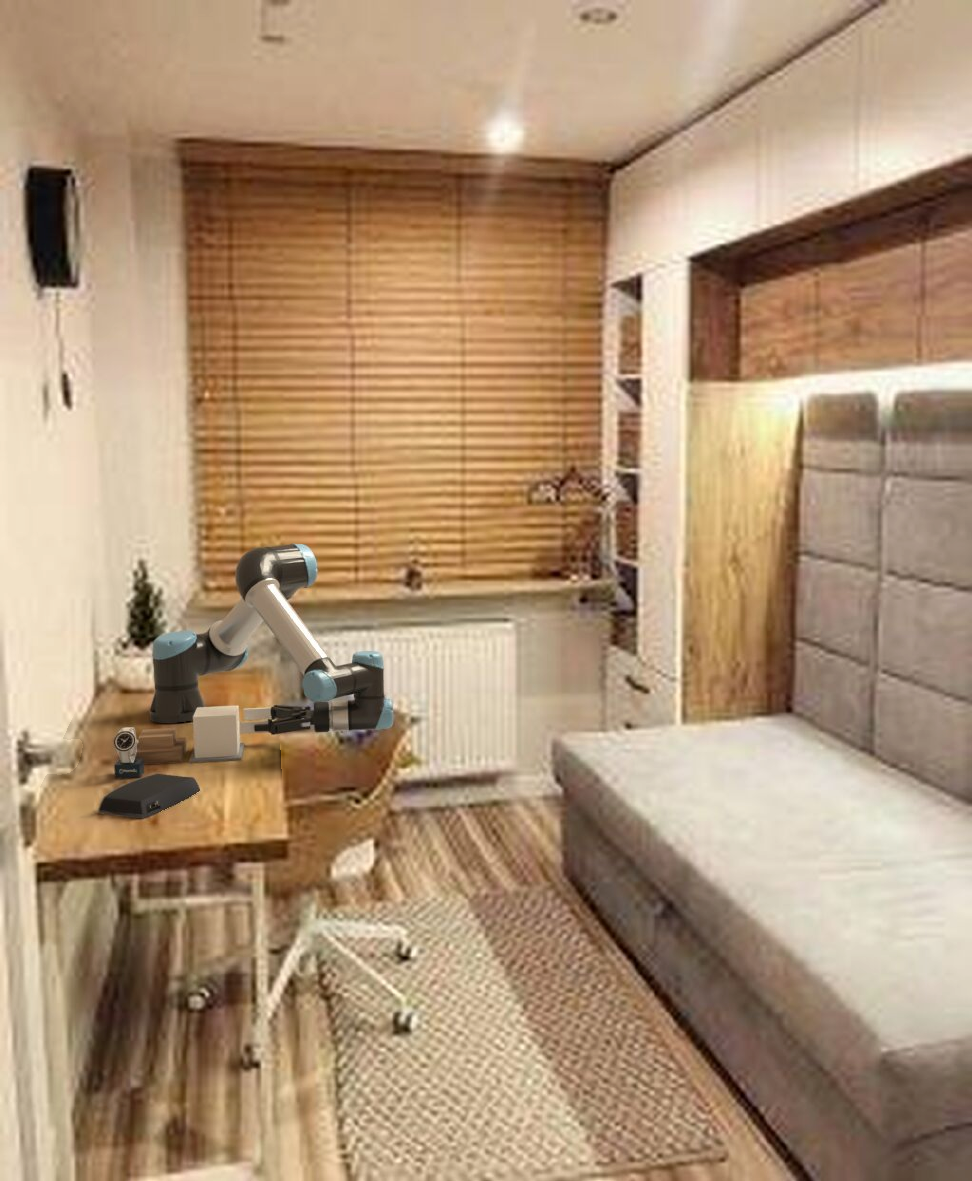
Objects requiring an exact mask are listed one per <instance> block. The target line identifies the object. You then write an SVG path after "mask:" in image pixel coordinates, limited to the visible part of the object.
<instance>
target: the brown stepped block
mask: <svg viewBox="0 0 972 1181" xmlns="http://www.w3.org/2000/svg"><path fill="white" fill-rule="evenodd" d="M137 740H138V743H137V752H136V756H135V759H143V761H144V765H160V764H178V763H179V764H180V763H182V762H183V759H184V757H185V755H186V752H187V750H188V744H187V742H188V741H187V737H183V736H181V737H180V736H179V737H177V727H169V728H168V727H167V728H151V729H150V728H149V729H147V728H146V729H142V730H141V732H140V734H139V736H138V738H137Z"/></svg>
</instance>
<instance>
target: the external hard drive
mask: <svg viewBox="0 0 972 1181" xmlns="http://www.w3.org/2000/svg"><path fill="white" fill-rule="evenodd" d="M200 790H201V788H200V786H199V783H198V782H197V780H196V779H195V777H193V776H180V775H171V774H164V773H152V774H150V775H146V776H143V777H142V776H141V777H138V778H137V779H135V780H131V781H129V782H127V783H124V784H123V785H120V786H119V787H117V788H114V790H111V791H110V792H108V793H106V794H105V795H104V796H103V797H102V799H101V802H100V804H99V807H98V809H97V810H98V811H97V813H98V814H102V813H104V815H112V816H119V817H125V818H126V817H127V818H132V819H133V818H134V819H141V820H144V819H148V818H150V817H152V816H154V815H157V814H159V812H160V813H162V812H163V811H162V810H164V811H166V810H168V809H170V808H169V807H171V808H173V807H174V805H175V806H176V804H177V805H179V804H181V803H182V802H181V801H183V802H185V801H186V800H185V799H187V800H189V799H190V798H192V797H193V796H192V795H194V794H195V795H197V794H198V793H197V792H199V791H200ZM200 792H201V791H200ZM200 792H199V793H200ZM196 793H197V794H196ZM195 795H194V796H195ZM191 796H192V797H191ZM189 797H190V798H189ZM184 800H185V801H184ZM180 802H181V803H180ZM178 803H179V804H178ZM172 806H173V807H172ZM167 808H168V809H167ZM165 809H166V810H165ZM161 811H162V812H161Z"/></svg>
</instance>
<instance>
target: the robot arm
mask: <svg viewBox="0 0 972 1181" xmlns="http://www.w3.org/2000/svg"><path fill="white" fill-rule="evenodd" d="M234 576H235V584H236V588H237V591H238V593H239V595H240V597H241V598H240V599H239V600H238V601H237V603H236V604H235V605H234V606H233V607H232V609H231V610H230V611H229V613H227V615H226V616H225V618H223V619H220V620H217V621H215V622H213V624H212V625H211V626H210V627H209V629H208V630H207V631H206V632H203V633H197V634H196V632H195V631H193V630H179V631H171V632H166V633H164V634H162V635H159V636H157V637H156V638H155V639H154V640H153V642H152V654H151V657H152V662H153V681H154V694H153V696H152V701H151V704H150V708H149V720H150V721H151V722H153V723H157V724H178V723H177V722H184V723H187V722H186V721H191V722H193V716H194V713H195V711H196V709H197V707H206V705H205V702H204V700H203V697H202V694H201V691H200V688H199V677H200V676H201V677H202V676H205V675H211V674H215V673H221V672H231V671H233V670H235V669H238V668H240V667H242V666H243V665H244V664H245V663H246V661H247V659H248V656H249V654H248V652H249V651H250V645H249V639H250V638H251V636H252V635H253V634H254V633H255V631H257V629H258V628H259V626H261V625H262V623H263V622H264V623H265V625H266V626H267V627H268V628H269V630H270V631H271V633H272V634H273V635H274V637H275V638H276V639H277V641H278V642H279V643H280V645H281V646H282V648H283V649H284V650H285V652H286V653H287V655H288V656H289V657H290V659H291V660H292V661H293V663H294V664H295V665H296V667H297V668H298V669H299V671H300V672H301V673H302V675H303V677H302V681H301V686H302V687H301V688H302V689H303V694H304V696H305V697H306V698H307V700H309V701H311V702H313V710H312V709H311V706H308V705H307V706H297V705H295V706H294V705H284V704H283V705H282V704H275V705H273V706H271V707H256V708H255V707H254V708H253V707H251V708H243V720H244V721H239V728H240V734H244V735H245V734H262V733H263V734H266V733H268V734H270V735H271V736H274V735H279V734H286V733H291V732H297V731H303V730H304V731H305V730H311V726H314V727H313V728H314V729H313V730H314V732H315V733H317V734H318V733H329V732H330V730H331V731H333V732H340V733H341V734H344V733H345V732H348V731H350V732H351V731H376V730H377V731H378V730H384V729H385V730H386V729H390V728H392V726H393V724H394V706H393V705H394V704H393V703H394V702H393V700H392V699H391V698H389V697H388V698H387V697H386V696H385V688H384V687H385V686H384V684H385V680H384V676H385V675H384V672H385V668H384V666H385V665H384V660H383V654H382V653H381V652H379V651H375V650H361V651H356V652H354V653H353V654H352V658H351V659H352V660H351V662H349V663H345V664H341V665H336V664H335V663H334V661H333V660H332V659H331V658H330V657H329V655H328V654H327V652H325V650H324V649H323V647H322V646H321V644H320V643H319V642H318V641H317V639H316V637H315V636H314V635H313V634H312V632H311V631H310V629H309V628H308V627H307V625H306V624H305V623H304V621H303V619H302V618H300V616H299V615H298V613H297V612H296V610H295V609H294V607H293V606H292V605H291V603H290V602H289V600H290V599H291V598H292V597H293V596H294V595H295V594H296V592H298V590H301V589H302V588H303V589H307V588H308V587H312V586H313V585H314V584H315V583H316V580H317V579H318V578H317V577H318V563H317V559H316V556H315V553H314V552H313V551H312V549H311V548H310V547H309V546H308V545H306V544H302V543H290V544H283V545H272V546H260V547H255V548H254V547H253V548H252V549H249V550H248V551H247V552H245V553H244V554H243V555H242V556H241V557H240V559H239V561H238V562H237V565H236V568H235V574H234ZM352 695H353V698H354V699H351V700H345V699H344V700H334V699H338V698H343V697H346V696H352ZM329 701H330V702H331V703H329ZM254 720H255V721H254Z"/></svg>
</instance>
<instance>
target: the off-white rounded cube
mask: <svg viewBox="0 0 972 1181" xmlns="http://www.w3.org/2000/svg"><path fill="white" fill-rule="evenodd" d="M192 727H193V730H192V731H193V744H194V747H193V750H195V758H204V757H222V756H238V752H239V748H240V743H241V735H240V712H239V705H220V706H219V705H217V706H205V707H197V709H196V711H195V713H194V716H193V721H192Z"/></svg>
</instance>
